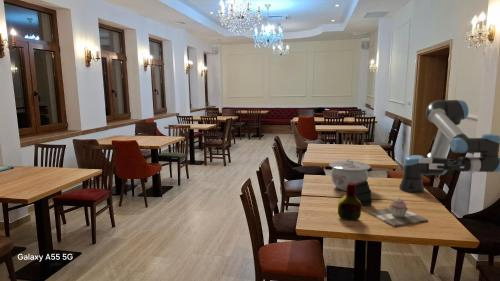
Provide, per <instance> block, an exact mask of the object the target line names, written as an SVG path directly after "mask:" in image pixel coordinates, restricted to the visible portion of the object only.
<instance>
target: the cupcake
mask: <svg viewBox="0 0 500 281" xmlns="http://www.w3.org/2000/svg"><path fill="white" fill-rule="evenodd" d="M388 208H390V209H391V213H392V215H393V216H395V217H400V218H401V217H404V216H405V214H406V211H407V210H408V211H409V207H408V206H407V203H406V201H404V200H403V199H401V197H397V199H394V200H393V201H392V202H391V204H390V205H389V207H388Z"/></svg>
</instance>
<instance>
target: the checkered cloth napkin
mask: <svg viewBox="0 0 500 281" xmlns="http://www.w3.org/2000/svg"><path fill="white" fill-rule="evenodd" d="M367 213H368V214H369V215H371V216H373V217H374V218H377V219H378V220H380V221H382V222H384V223H385V224H387V225H388V226H390V227H393V228H395V227H401V226H408V225H413V224H414V225H415V224H421V223H426V222H429V219H427V217H426V218H425V217H423V216H421V215H419V214H418V213H414V212H412V211H410V210H409V209H408V210H407V211H406V214H405V216H404V217H401V218H400V217H395V216H393V215H392V213H391V209H390V207H388V208H382V209H381V208H379V209H374V210H373V209H372V210H368V211H367Z"/></svg>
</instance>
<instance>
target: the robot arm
mask: <svg viewBox="0 0 500 281" xmlns="http://www.w3.org/2000/svg"><path fill="white" fill-rule="evenodd" d="M469 111H470V110H469V106H468V104H467V102H466V101H464V100H462V99H461V100H459V99H447V100H446V99H444V100H443V99H438V100H434V101H432V102H430V103H428V105H427V107H426V109H425V116H426V119H427V120H428V121H429V122H430V123H433V124H434V125H435V126H436V127H437V128H438V129H437V133H436V136H435V139H434V142H433V144H432V147H431V151H430V152H429V153H427V155H426V157H424V155H419V154H414V155H413V154H412V155H407V156H405V157H404V160H403V171H402V172H403V174H402V179H401V182H400V184H399V190H401V191H403V192H407V193H412V194H413V193H414V194H419V193H420V194H421V193H424V192H425V186H424V182H423V176H442V175H443V176H444V175H445V174H446V173H447V172H450V171H459V172H464V173H465V172H466V173H467V172H472V173H473V174H474V173H475V172H478V173H479V172H481V173H500V157H499V152H500V135H499V134H494V133H483V134H482V135H481V137H469V136H467V134H466V133H465V132H464V131H462V129H461V128H460V127H459V125H460V124H461V122H462V120H465V119H467V118H468V116H469ZM449 147H450V150H451V151H452V152H453V153H458V154H474V153H475V154H479V156H459V157H457V160H456V159H453V158H447V156H446V155H447V153H448V150H449Z"/></svg>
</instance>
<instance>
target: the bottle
mask: <svg viewBox="0 0 500 281" xmlns="http://www.w3.org/2000/svg"><path fill="white" fill-rule="evenodd" d="M355 190H356V189H355V183H348V185H347V190H346V191H345V195H344V196H342V197H341V198H340V199H339V200H338V203H337V215H338V217H339V218H340V219H342V220H348V221H349V220H350V221H356V220H357V221H358V220H359V219H360V218H361V214H362V206H363V205H361V203H360V201H359V200H358V199H357V198H356V195H355Z"/></svg>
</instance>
